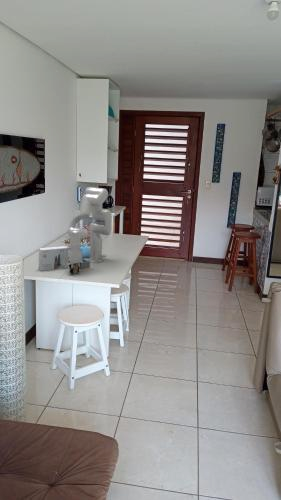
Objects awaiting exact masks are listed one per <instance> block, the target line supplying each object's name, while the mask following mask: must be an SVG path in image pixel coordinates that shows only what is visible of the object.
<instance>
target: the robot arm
mask: <svg viewBox="0 0 281 500" xmlns="http://www.w3.org/2000/svg"><path fill="white" fill-rule="evenodd" d="M108 197H109V192H108V190H107V188H102V187H95V186H89V187H86V188H85V190H84V194H83V195H82V198H81V201H80V206H79V210H78V213H77V214H76V215H75V216H73V218H72V219H71V220H70V223H69V225H68V230H67V234H68V237H69V248H68V254H67V263H66V265H67V266H68V268H69V273H70V274H71V273H72V274H71V275H74V274H73V264H76V263H77V264H78V273H80V271H79V267H80V265H81V263H82V262H83V260H82V259H83V258H82V252H81V249H80V247H82V246H81V245H82V243H81V240H85V239H87V238H88V236H90V237H89V240H90V241H89V249H90V256H89V257H88V258H87V261H90V263H94V264H95V263H96V264H97V263H103V262H104V258H106V257H107V255H106V254H103V238H102V235H103V236H109V235H111V234H112V229H113V228H112V227H113V222H112V221H113V220H112V218H113V215H112V212H111V211H112V210H110V209H108V208H107V209H106V208H103V203H105V202H106V200H107V199H108ZM90 217H91V219H92V220H93V221H91V222H90V224H89V228H88V229H89V231H88V229H87V228H84V227H83V228H81V227H76V225H77V223H79V222H80V221H83V220H84V219H88V218H90ZM89 234H90V235H89ZM102 261H103V262H102Z"/></svg>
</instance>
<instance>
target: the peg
mask: <svg viewBox="0 0 281 500" xmlns="http://www.w3.org/2000/svg"><path fill="white" fill-rule="evenodd" d="M78 273H79V272H78V264H77V263H76V264H73V274H72V273H70V274H71V275H78Z"/></svg>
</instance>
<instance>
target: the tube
mask: <svg viewBox="0 0 281 500" xmlns="http://www.w3.org/2000/svg"><path fill="white" fill-rule="evenodd" d="M82 260H83V262H82V263H81V265H80V267H79V272H82V271H88V270H92V269H93V267H91V262H90V261H88V259H86V258H82Z"/></svg>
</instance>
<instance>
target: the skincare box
mask: <svg viewBox="0 0 281 500" xmlns="http://www.w3.org/2000/svg"><path fill="white" fill-rule="evenodd" d="M68 250H69V247H68V246H67V245H64V246H63V245H61V246H53V247H50V246H49V247H40V248H38V267H37V269H38V270H39V271H40V272H45V271H53V270H61V268H62V269H68V268H69V266H67V265H66V263H67V254H68ZM67 267H68V268H67Z"/></svg>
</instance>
